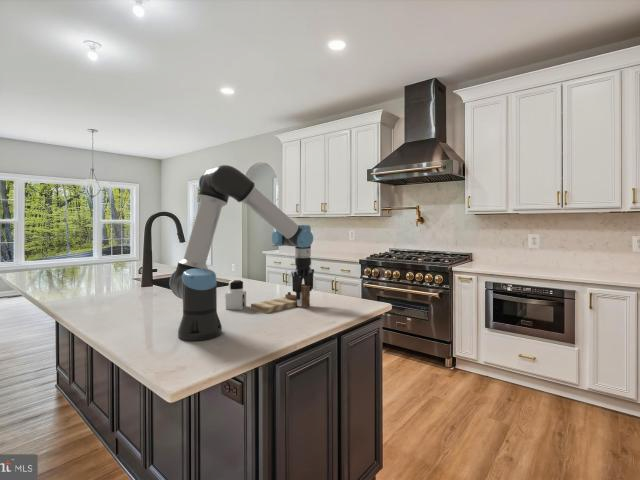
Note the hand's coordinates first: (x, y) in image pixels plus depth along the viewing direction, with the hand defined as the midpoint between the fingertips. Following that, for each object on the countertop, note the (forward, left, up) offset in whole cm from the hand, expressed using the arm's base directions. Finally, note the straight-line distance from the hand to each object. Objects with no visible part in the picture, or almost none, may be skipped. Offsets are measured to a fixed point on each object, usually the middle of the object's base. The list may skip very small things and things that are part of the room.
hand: (303, 305), depth 174 cm
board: (-8, +8, -1) cm, 11 cm away
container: (-24, +21, -1) cm, 32 cm away
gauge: (0, +4, -1) cm, 4 cm away
